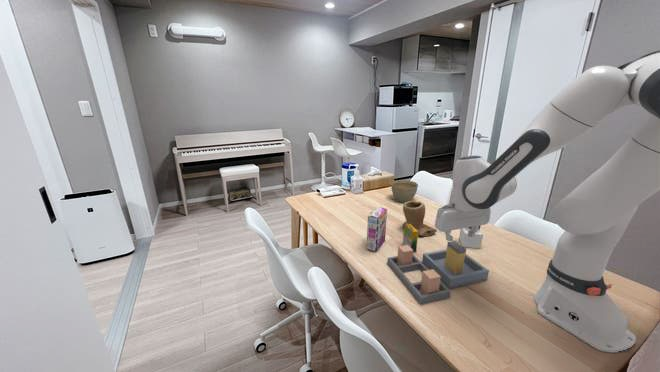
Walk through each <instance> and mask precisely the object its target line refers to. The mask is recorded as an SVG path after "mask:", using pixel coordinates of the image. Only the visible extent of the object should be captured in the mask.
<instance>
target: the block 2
mask: <svg viewBox="0 0 660 372" xmlns="http://www.w3.org/2000/svg"><path fill="white" fill-rule="evenodd" d="M440 278H441V276H440V275H439V274H438V273H437V272H435V271H434V270H433V269H431V270H427V271H423V272H422V271H421V281H420V282H421V289H420V290H419V292H420V293H421V295H427V294H431V293H435V292H439V291H440V290H439V285H440V281H441V280H440Z"/></svg>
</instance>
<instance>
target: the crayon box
mask: <svg viewBox="0 0 660 372" xmlns="http://www.w3.org/2000/svg"><path fill="white" fill-rule="evenodd" d="M404 223H405V225H404V228H403V235H402V236H403V238H402V246H404V245H408V246H409V247H410V248H411V249H412V250H413V253H417V248H418V247H417V246H418V238H419V235H418V231H417V230H416V229H415V228H414V227H413V226H412V225H411V224H408V223H407V222H406V220H404Z"/></svg>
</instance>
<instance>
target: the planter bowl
mask: <svg viewBox="0 0 660 372" xmlns="http://www.w3.org/2000/svg"><path fill="white" fill-rule="evenodd" d="M390 185H391V192H392V194H393V197H394V198H395V201H397V202H399V203H403V204H405V203H406V202H408V201H413V198H414V197H415V195H416V194H417V192H418V187H419V184H418V183H417V182H415V181H412V180H406V179H399V180H394V181H392V182H391V184H390Z"/></svg>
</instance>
